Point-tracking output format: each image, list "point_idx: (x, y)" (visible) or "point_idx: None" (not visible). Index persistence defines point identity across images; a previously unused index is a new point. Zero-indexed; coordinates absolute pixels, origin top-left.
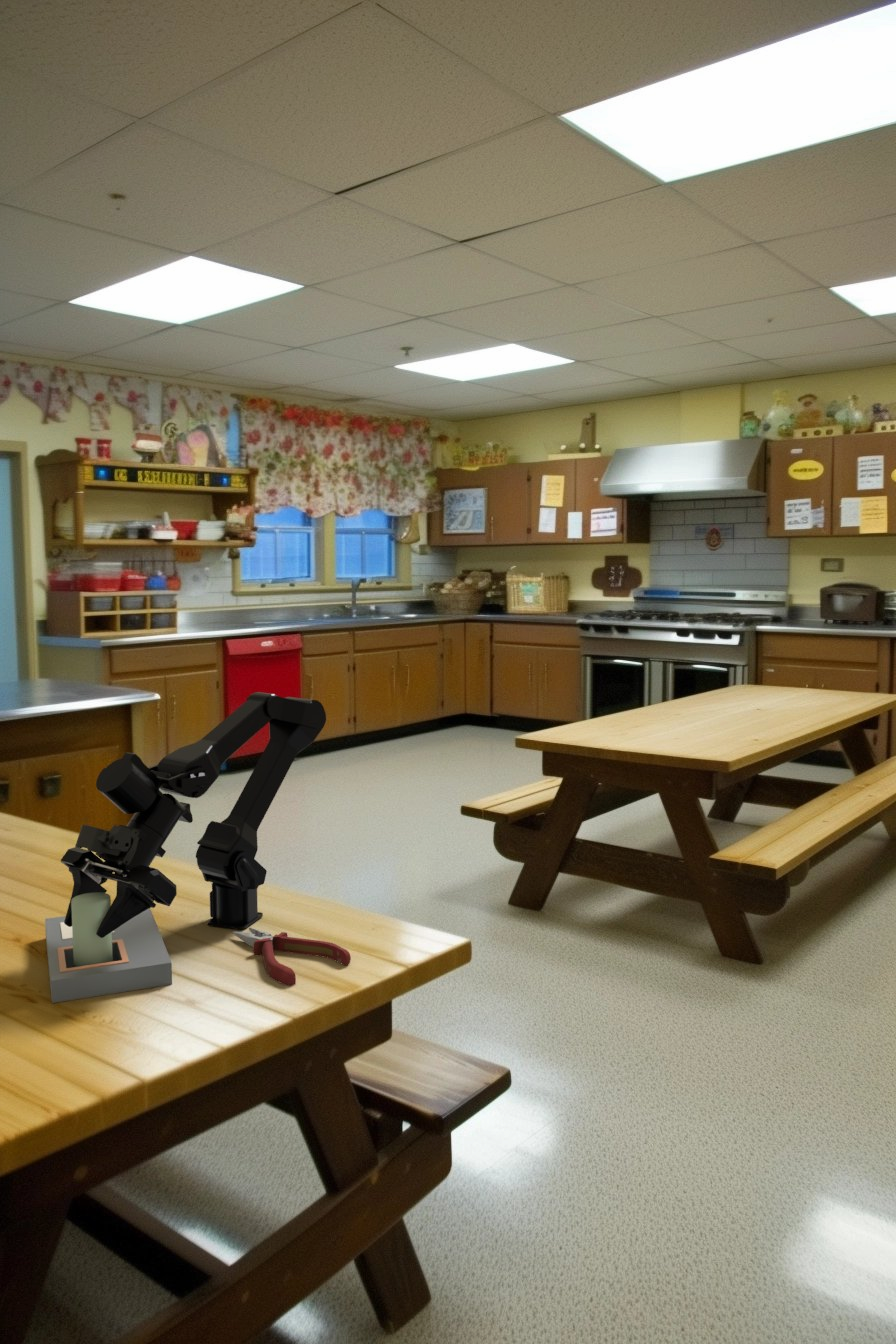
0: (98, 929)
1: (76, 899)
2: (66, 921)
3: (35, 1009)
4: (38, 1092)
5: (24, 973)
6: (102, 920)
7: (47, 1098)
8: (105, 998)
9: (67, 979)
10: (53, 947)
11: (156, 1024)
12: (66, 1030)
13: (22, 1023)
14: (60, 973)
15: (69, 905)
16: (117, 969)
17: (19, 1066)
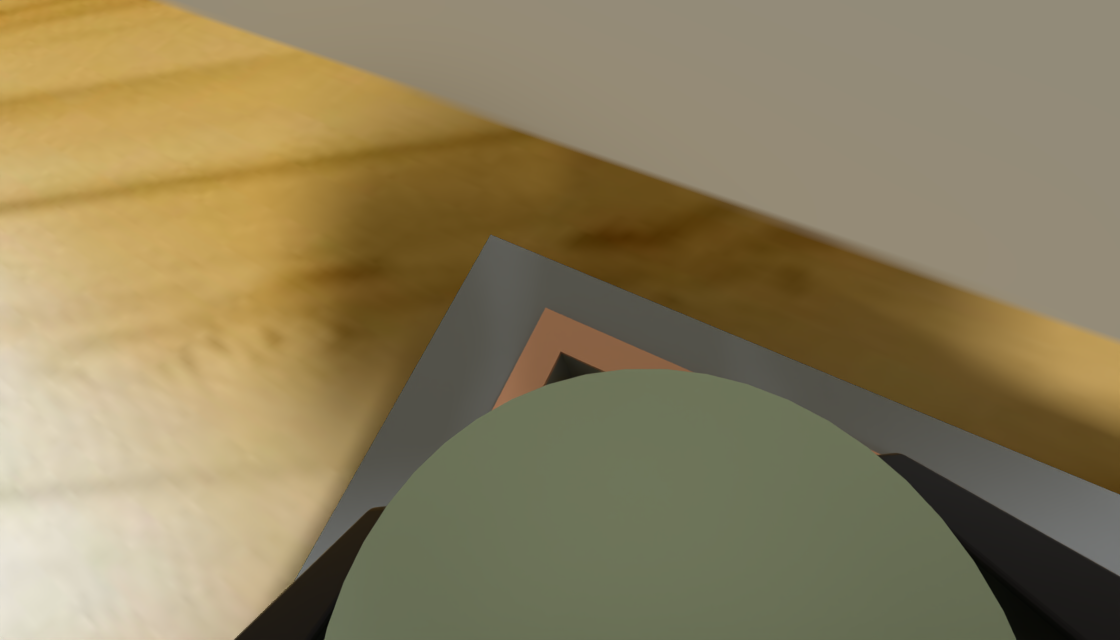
0: (368, 527)
1: (792, 497)
2: None
3: (515, 214)
4: (57, 27)
5: (943, 342)
6: (334, 596)
7: (16, 32)
8: None
9: (454, 304)
10: (975, 472)
11: (19, 466)
12: (272, 218)
13: (446, 140)
14: (534, 305)
15: (1088, 568)
16: None
17: (206, 39)
